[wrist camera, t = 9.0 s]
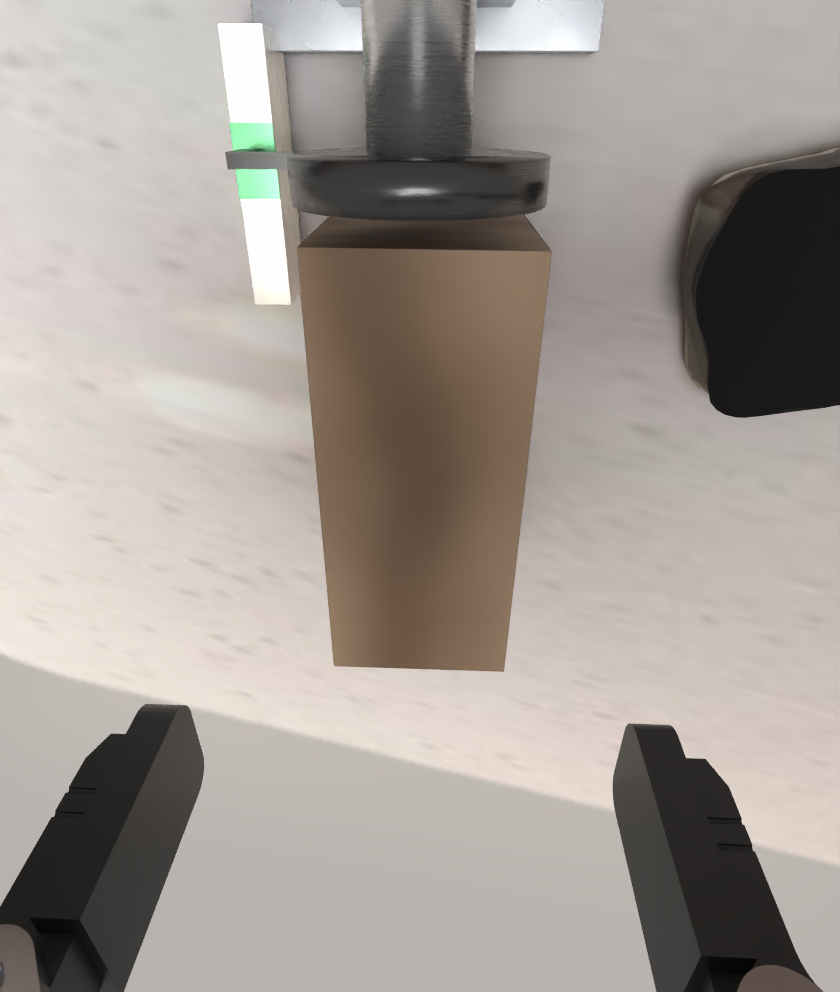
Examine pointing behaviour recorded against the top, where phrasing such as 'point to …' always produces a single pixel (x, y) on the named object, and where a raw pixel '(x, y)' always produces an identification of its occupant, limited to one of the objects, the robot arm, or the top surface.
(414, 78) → the plunger
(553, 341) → the top surface
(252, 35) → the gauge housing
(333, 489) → the walnut block
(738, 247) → the black curved shell
